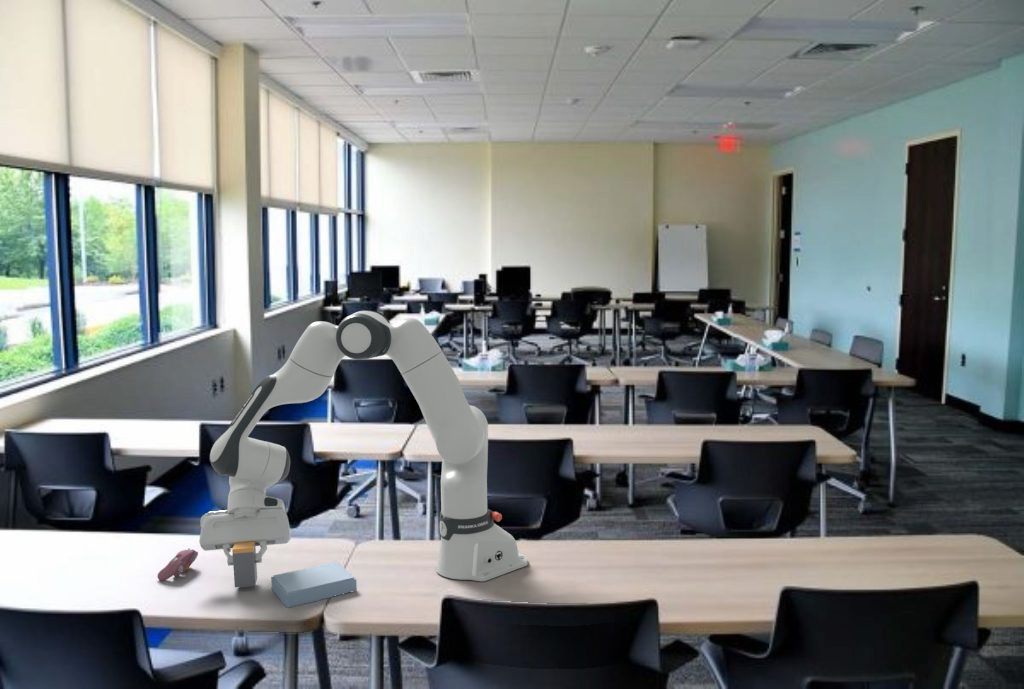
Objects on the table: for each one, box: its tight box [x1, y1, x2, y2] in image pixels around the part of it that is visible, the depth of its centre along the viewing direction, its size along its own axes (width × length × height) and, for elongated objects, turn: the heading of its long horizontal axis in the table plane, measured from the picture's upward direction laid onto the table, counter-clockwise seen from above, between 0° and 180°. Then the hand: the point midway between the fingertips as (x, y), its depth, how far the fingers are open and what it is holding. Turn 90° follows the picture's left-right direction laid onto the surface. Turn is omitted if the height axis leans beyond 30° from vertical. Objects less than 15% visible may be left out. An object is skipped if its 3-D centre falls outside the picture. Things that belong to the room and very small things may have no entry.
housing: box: [231, 541, 258, 588], centre depth 192 cm, size 4×4×9 cm
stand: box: [270, 561, 358, 609], centre depth 190 cm, size 16×12×3 cm
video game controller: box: [157, 547, 199, 582], centre depth 200 cm, size 10×5×7 cm, turn 169°
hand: (244, 563), depth 191 cm, fingers closed on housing, 4 cm apart
